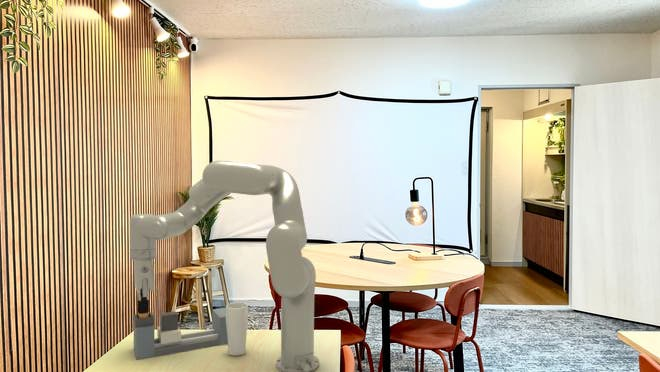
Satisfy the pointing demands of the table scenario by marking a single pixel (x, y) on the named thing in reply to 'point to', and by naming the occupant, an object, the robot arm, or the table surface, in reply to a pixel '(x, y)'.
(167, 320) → the carriage
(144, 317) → the button
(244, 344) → the drinking glass
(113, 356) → the table surface
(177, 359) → the table surface
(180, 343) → the rail track
